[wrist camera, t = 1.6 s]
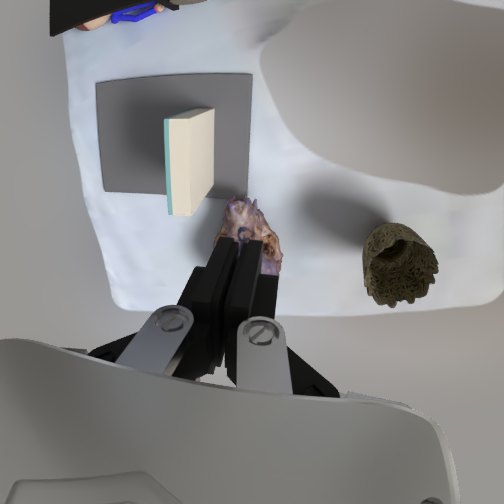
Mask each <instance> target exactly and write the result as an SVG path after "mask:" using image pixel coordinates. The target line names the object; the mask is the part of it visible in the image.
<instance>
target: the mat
mask: <svg viewBox="0 0 504 504" xmlns="http://www.w3.org/2000/svg"><path fill="white" fill-rule="evenodd" d="M252 81H253V75H244V74H194V75H171V76H157V77H145V78H135V79H126V80H118V81H110V82H103V83H97V112H98V128H99V142H100V153H101V163H102V172H103V181H104V188H105V192H122V193H144V194H163V195H167V186H166V167H165V142H164V119H166V118H168V117H171V116H174V115H177V114H180V113H182V112H185V111H188V110H191V109H194V108H215V113H214V185H213V186H212V188H211V189H210V190H209V192H208V193H207V194H206V196H205V197H209V198H222V199H232V198H233V197H234V196H235V198H237V197H239V198H245V196H246V197H247V189H248V166H249V144H250V122H251V102H252Z"/></svg>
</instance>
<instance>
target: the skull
mask: <svg viewBox="0 0 504 504" xmlns="http://www.w3.org/2000/svg"><path fill="white" fill-rule="evenodd" d="M220 236H221V237H231V238H234V241H235V242H239V254H240V251H241V248H242V245H243V242H244V243H248V241H249V239H251V240H261V241H263V253H262V267H261V274H269V275H279V272H280V270H281V262H282V260H281V259H282V257H283V254H282V253H281V251H280V246H279V239H278V236H277V235H276V234H275V232H273V231H272V230H271V229H270V228H269V226H268V223H267V222H266V220H265V218H264V214H263V213H262V212H261V211H260V209H258V210H257V199H254V202H253V204H252V203H251V201H250V198H248V197H246V196H245V198H239V197H237V198H235V196H234V197H233V198H232V199H230V200H228V201H227V203H226V209H225V215H224V217H223V225H222V227H221V231H220V232H219V233H218V234H217V237H216V238H215V241H214V248H215V246H216V243H217V241H218V239H219V237H220ZM271 248H272V249H273V253H272V254H271ZM264 249H266V250H264Z"/></svg>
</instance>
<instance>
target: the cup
mask: <svg viewBox="0 0 504 504" xmlns="http://www.w3.org/2000/svg"><path fill="white" fill-rule="evenodd" d="M433 253H434V251H433V250H432V249H431V248H430V247H429V246H428V245H427V244H426V242H425V241H424V240H423V239H422V238H421V237H420V236H419V235H418V234H417V233H416V232H414V231H413V230H412V229H411V228H409V227H407V226H405V225H403V224H399V223H388V224H381V225H379V226H377V227H376V228H375V229H374V230H373V231H372V233H371V234H370V235H369V236H368V238H367V240H366V242H365V244H364V248H363V255H362V260H363V273H364V285H365V287H367V293H368V296H373V298H374V300H375V302H376V303H377V304H378V305H385V304H387V305H388V306H389V307H391V308H395V306H396V305H397V302H396V301H400V302H402V301H403V300H407V301H408V303H409V304H413V303H414V302H415V298H421V297H424V296H426V295H427V292H428V289H429V284H430V283H432V284H435V278H434V276H433V274H437V273H438V266H437V265H438V261H437V259H436V257H435V255H434V254H433ZM430 285H431V284H430ZM395 302H396V303H395Z"/></svg>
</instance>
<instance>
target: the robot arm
mask: <svg viewBox="0 0 504 504" xmlns="http://www.w3.org/2000/svg"><path fill="white" fill-rule="evenodd" d="M262 253H263V241H261V240H251V239H249V241H248V243H244V242H243V245H242V248H241V251H240V254H239V242H235V241H234V238H231V237H221V236H220V237H219V239H218V241H217V243H216V246H215V248H214V250H213V252H212V255H211V257H210V259H209V261H208V263H207V266H206V267H199V266H196V267H195V268H194V270H193V272H192V274H191V276H190V278H189V280H188V282H187V284H186V286H185V288H184V290H183V292H182V295H181V297H180V299H179V301H178V303H177V305H167V306H164V307H161V308H159V309H157V310H156V311H155V312H154V313H152V315H151V316H150V317H149V319H148V320H147V321H146V322H145V324H144V325H143V326H142V328H141V329H140V330H139V331H138V332H136V333H134V334H131V335H129V336H126V337H124V338H121V339H118V340H116V341H113V342H111V343H108V344H105V345H103V346H100V347H98V348H96V349H94V350H92V351H91V352H90V353H88V351H87V350H86V349H74V348H61V347H57V346H53V345H49V344H46V343H43V342H39V341H34V340H29V339H19V338H12V339H2V340H0V504H461V500H460V499H461V498H460V490H459V484H458V478H457V473H456V468H455V464H454V460H453V456H452V452H451V449H450V446H449V443H448V440H447V438H446V436H445V434H444V432H443V430H442V429H441V427H440V426H439V425H438V423H437V422H435V421H434V420H433V419H432V418H430V417H428V416H427V415H425V414H423V413H421V412H419V411H416V410H413V409H412V408H410V407H409V406H408V405H406V404H404V403H401V402H396V401H391V400H386V399H381V398H376V397H371V396H367V395H362V394H358V393H354V392H348V393H347V394H344V393H339V392H338V390H337V389H336V388H335V387H334V386H333V385H332V384H331V383H330V382H329V381H328V380H326V379H325V378H324V377H323V376H322V375H320V374H319V373H318V372H317V371H316V370H314V369H313V368H312V367H311V366H310V365H308V364H307V363H306V362H305V361H304V360H303V359H301V358H300V357H299V356H298V355H297V354H296V353H294V352H293V351H292V350H291V349H290V348H289V347H288V346H286V339H285V332H284V329H283V327H282V326H281V325H280V323H278V322H277V321H275V320H274V318H275V308H276V299H277V289H278V280H279V275H269V274H261V267H262ZM224 352H225V368H227V376H228V377H229V378H230V380H231V381H232V382H233V383H234V384H235V385H236V388H235V387H228V386H222V385H215V384H209V383H204V382H200V377H201V376H203V375H205V374H214V370H215V367H216V366H217V367H221V364H222V360H223V356H224Z"/></svg>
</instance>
